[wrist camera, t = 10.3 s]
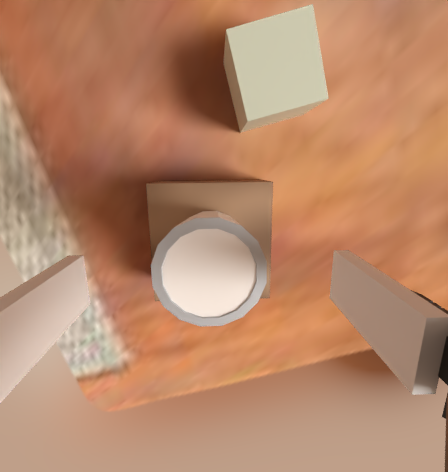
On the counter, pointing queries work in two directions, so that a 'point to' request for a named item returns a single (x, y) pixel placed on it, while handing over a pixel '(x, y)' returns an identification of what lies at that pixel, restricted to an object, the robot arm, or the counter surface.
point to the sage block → (274, 68)
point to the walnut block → (212, 209)
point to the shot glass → (209, 270)
